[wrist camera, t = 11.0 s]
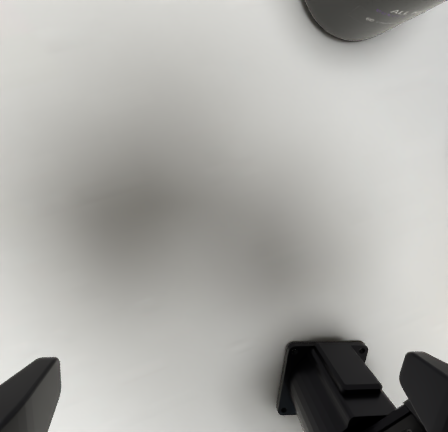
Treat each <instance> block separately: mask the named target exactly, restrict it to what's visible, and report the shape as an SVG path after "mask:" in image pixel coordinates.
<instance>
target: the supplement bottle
mask: <svg viewBox="0 0 448 432" xmlns="http://www.w3.org/2000/svg"><path fill="white" fill-rule="evenodd" d="M445 1H447V0H305V3H306V5H307V7H308V10H309V12H310V13H311V15H312V17H313V18H314V19H315V21H316V22H317V23H318V24H319V25H320V26H321V27H322V28H323V29H324V30H325V31H327V32H328V33H329V34H331V35H333V36H335V37H337V38H340V39H344V40H349V41H359V40H365V39H369V38H372V37H375V36H377V35H379V34H382V33H384V32H386V31H388V30H390V29H392V28H394V27H396V26H398V25H400V24H402V23H404V22H406V21H408V20H410V19H412V18H414V17H416V16H418V15H420V14H422V13H424V12H426V11H428V10H430V9H432V8H434V7H435V6H437V5H439V4H441V3H443V2H445Z"/></svg>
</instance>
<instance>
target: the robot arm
mask: <svg viewBox="0 0 448 432" xmlns="http://www.w3.org/2000/svg"><path fill="white" fill-rule="evenodd" d="M294 349H296V350H294ZM292 350H294V351H292ZM367 353H368V348H367V346H366V345H365V344H364V343H363V342H300V343H291V344H289V345H288V346H287V349H286V355H285V361H284V366H283V372H282V377H281V383H280V389H279V394H278V400H277V406H276V408H277V411H278V413H279V414H280V415H298V418H299V420H300V423H301V425H302V428H303V430H304V432H448V364H447V363H445V362H443V361H441V360H439V359H437V358H435V357H433V356H431V355H429V354H427V353H425V352H408V353H407V354H406V355H405V358H404V362H403V365H402V368H401V371H400V375H399V380H400V384H401V386H402V388H403V390H404V392H405V393H406V395H407V397H408V400H406V401H405V402H403V403H404V405H402V406H400V407H399V408H397V409H396V407H395V406H394V405H393V403H392V402H391V401H390V400H389V398H388V397H387V396H386V395H385V393H384V392H383V391H382V385H381V383H380V382H379V381H378V380H377V378H376V377H375V376H374V375H373V373H372V372H371V371H370V370H369V368H368V367H367V366H366V364H365V360H366V356H367ZM60 392H61V374H60V361H59V359H58V358H56V357H42V358H38V359H36V360H35V361H33V362H32V363H30V364H29V365H28V366H26V367H25V368H23V369H22V370H21V371H19V372H18V373H16V374H15V375H14V376H12V377H11V378H9V379H8V380H7V381H5V382H4V383H3V384H1V385H0V432H48V429H49V426H50V423H51V420H52V417H53V415H54V412H55V409H56V406H57V403H58V400H59V397H60Z"/></svg>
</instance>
